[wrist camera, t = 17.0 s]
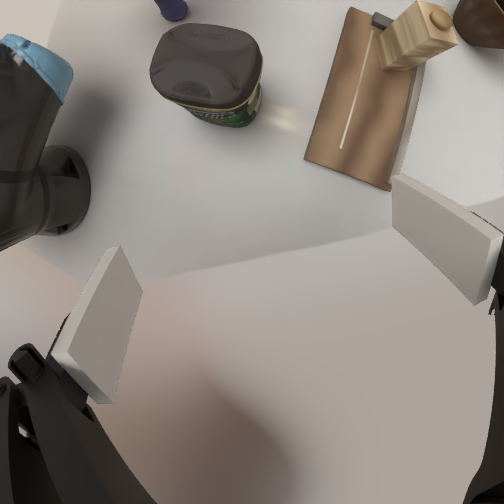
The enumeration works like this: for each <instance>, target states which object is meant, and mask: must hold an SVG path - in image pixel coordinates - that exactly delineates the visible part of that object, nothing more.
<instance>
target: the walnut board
mask: <svg viewBox="0 0 504 504" xmlns="http://www.w3.org/2000/svg"><path fill="white" fill-rule="evenodd" d="M393 22H394V20H392V19H390V18H388V17H386V16H384V15H382V14H380V13H378V12H375V13H374V14H373V16H372V15H370V14H368V13H365V12H363V11H361V10H358V9H356V8H353V7H350V8H349V10H348V12H347V15H346V19H345V22H344V26H343V29H342V33H341V36H340V40H339V43H338V47H337V50H336V54H335V57H334V60H333V64H332V67H331V71H330V74H329V77H328V81H327V84H326V88H325V91H324V94H323V97H322V101H321V104H320V107H319V111H318V114H317V117H316V120H315V124H314V127H313V130H312V133H311V137H310V140H309V143H308V146H307V149H306V153H305V156H304V160H307V161H310V162H313V163H316V164H319V165H322V166H324V167H327V168H330V169H333V170H335V171H338V172H341V173H343V174H346V175H349V176H351V177H354V178H356V179H359V180H361V181H364V182H366V183H369V184H371V185H373V186H376V187H378V188H381V189H383V190H385V191H389V192H391V189H392V181H391V176H394V175H399V173H400V170H401V166H402V163H403V159H404V156H405V152H406V149H407V145H408V142H409V138H410V134H411V130H412V126H413V122H414V118H415V114H416V109H417V105H418V100H419V96H420V91H421V86H422V81H423V75H424V70H425V64H426V61H424V62H422V63H421V64H419V65H417V66H415V67H413V68H411V69H409V70H408V71H406V72H405V71H394V70H382V67H381V63H380V59H379V55H378V51H377V47H376V43H375V39H376V38H377V37H378V36H379V35H380V34H381V33H382V32H383V31H384V30H385V29H386V28H387V27H388V26H389V25H391V24H392V23H393Z"/></svg>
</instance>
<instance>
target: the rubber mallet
mask: <svg viewBox="0 0 504 504" xmlns="http://www.w3.org/2000/svg"><path fill="white" fill-rule="evenodd" d="M154 1H155V2H156V4H157V5H158V6H159V8H160V10H161V14H162V16H163V17H164V18H165V19H167V20H179V19H181V18H182V17H184V16H185V14H186V12H187V9H188V7H187V4H186V3H185V1H184V0H154Z"/></svg>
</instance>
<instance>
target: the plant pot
mask: <svg viewBox="0 0 504 504" xmlns="http://www.w3.org/2000/svg"><path fill="white" fill-rule="evenodd" d="M453 22H454V25H455V28H456V30H457V31H458V33H459V34H460V35H461V37H462V38H463V39H464V40H465V41H467V42H468V43H469V44H471V45H473V46H479V47H486V48H497V49H504V0H460V1H459V3H458V5H457V8H456V10H455V13H454V16H453Z"/></svg>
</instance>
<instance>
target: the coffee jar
mask: <svg viewBox="0 0 504 504" xmlns="http://www.w3.org/2000/svg"><path fill="white" fill-rule="evenodd" d="M262 67H263V57H262V54H261V52H260V49H259V46H258V44H257V42H256V41H255V39H254V38H253V37H252V36H250V35H249V34H247V33H246V32H243V31H240V30H237V29H232V28H228V27H223V26H217V25H209V24H197V23H189V24H183V25H179V26H176V27H174V28H172V29H170V30H169V31H168V32H166V33H165V34H164V35H163V36H162V38H161V40H160V41H159V43H158V46H157V48H156V50H155V53H154V55H153V58H152V62H151V66H150V79H151V82H152V84H153V86H154V88H155V89H156V90H157V91H158V92H159V93H160V94H161V95H162V96H163V97H164V98H166V99H168V100H170V101H172V102H174V103H176V104H178V105H180V106H182V107H184V108H185V109H186V110H188V111H189V112H190V113H191V114H193V115H194V116H195V117H197V118H199V119H201V120H204V121H207V122H210V123H213V124H218V125H222V126H228V127H243V126H246V125H248V124H249V123H250V122H251V121H252V120H253V119H254V118H255V116H256V114H257V111H258V109H259V106H260V102H261V96H262V91H261V86H260V83H259V81H260V78H261V73H262Z"/></svg>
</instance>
